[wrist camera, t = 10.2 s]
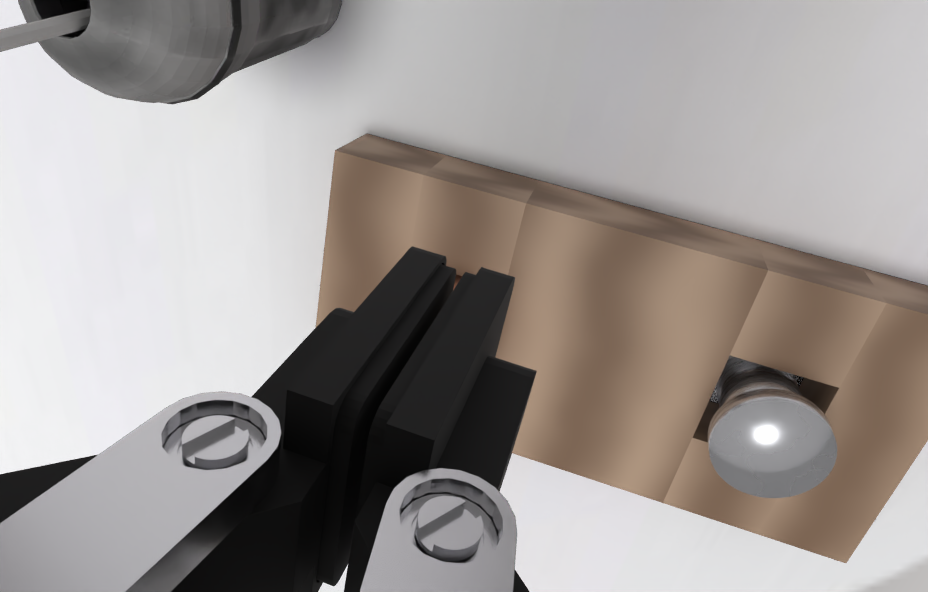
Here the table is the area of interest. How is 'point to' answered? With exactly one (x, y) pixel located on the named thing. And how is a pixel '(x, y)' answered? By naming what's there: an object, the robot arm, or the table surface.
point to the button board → (651, 332)
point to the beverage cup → (166, 40)
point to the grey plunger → (768, 433)
